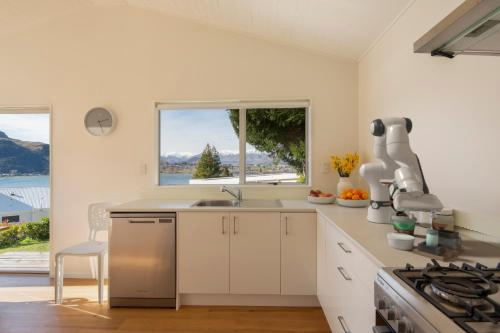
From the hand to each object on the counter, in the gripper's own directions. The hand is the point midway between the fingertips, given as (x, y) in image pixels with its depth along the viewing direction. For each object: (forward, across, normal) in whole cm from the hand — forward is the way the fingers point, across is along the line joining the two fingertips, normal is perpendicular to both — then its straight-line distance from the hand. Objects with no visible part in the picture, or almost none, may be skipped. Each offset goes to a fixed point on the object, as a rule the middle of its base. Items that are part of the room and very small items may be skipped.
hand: (423, 218), depth 115 cm
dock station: (+12, -5, -8) cm, 15 cm away
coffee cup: (-1, -18, -22) cm, 28 cm away
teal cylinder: (+14, 0, -4) cm, 14 cm away
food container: (-6, -3, -27) cm, 28 cm away
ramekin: (+9, +8, -12) cm, 17 cm away
